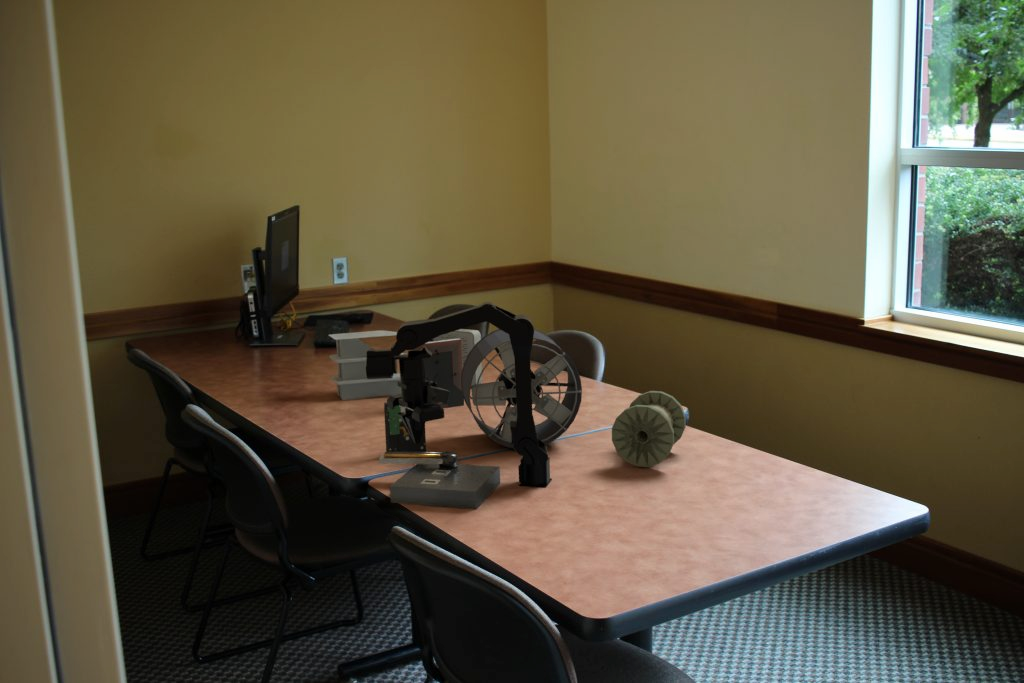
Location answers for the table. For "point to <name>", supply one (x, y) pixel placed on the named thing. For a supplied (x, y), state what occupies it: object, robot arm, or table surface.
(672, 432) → the spool
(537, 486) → the robot arm
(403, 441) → the disk drive
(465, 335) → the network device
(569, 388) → the ventilation fan
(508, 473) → the table surface
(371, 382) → the file organizer
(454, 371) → the picture frame
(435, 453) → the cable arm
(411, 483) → the grey flat block
